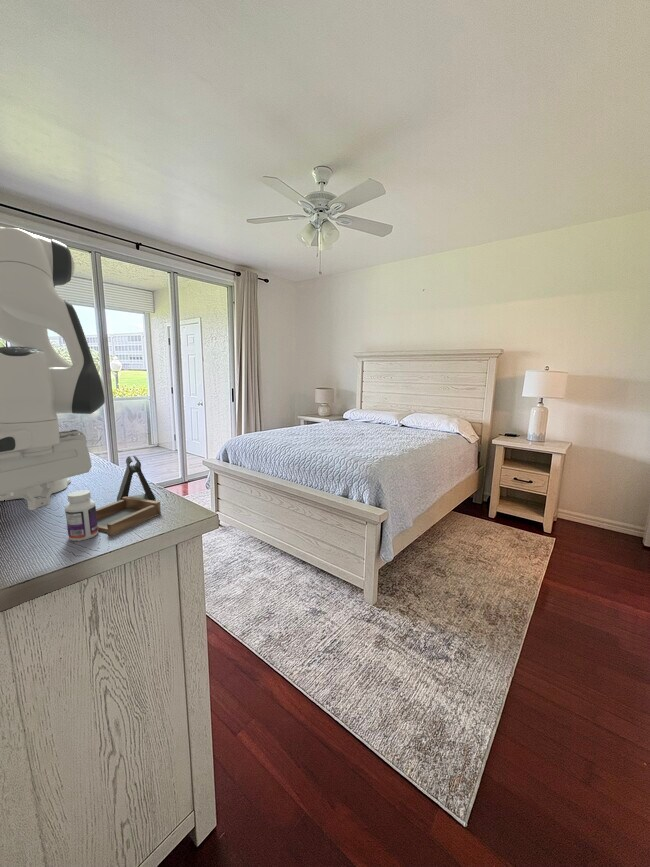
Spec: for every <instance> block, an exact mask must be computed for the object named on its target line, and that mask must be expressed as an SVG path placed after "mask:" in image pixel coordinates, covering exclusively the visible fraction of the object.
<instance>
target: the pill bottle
mask: <svg viewBox="0 0 650 867" xmlns="http://www.w3.org/2000/svg"><path fill="white" fill-rule="evenodd" d="M91 498H92V496H91V491H90V490H89V489H86V490H85V489H81V490H76V491H72V492H69V493H68V494H67V501H68V503H67V504H66V505H65V507H64V510H65V511H64V512H65V513H64V514H65V519H66V520H65V521H66V526H67V527H66V528H67V535H68V539H69V540H70V541H73V542H81V541H85V540H89V539H92V538H94V537H96V536H97V535H98V533H99V531H98V524H97V515H96V509H97V507H96V502H95V501H94V500H93V499H91Z"/></svg>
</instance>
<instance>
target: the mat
mask: <svg viewBox="0 0 650 867" xmlns="http://www.w3.org/2000/svg"><path fill="white" fill-rule="evenodd" d="M137 511H138V510H133V509H127V508H126V509H124V510H121V511H119V512H116V513H114V514H112V515H109V516H107V517H104V518H102V519H99V520H97V524H98V525H102V526H107V524H109V523H111V522H113V521H116V520H118V519H120V518H123V517H125V516H127V515H130V514H132V513H134V512H137Z"/></svg>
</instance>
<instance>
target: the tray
mask: <svg viewBox="0 0 650 867" xmlns="http://www.w3.org/2000/svg"><path fill="white" fill-rule="evenodd" d="M126 508H127V509H133V510H138V511H137V512H134V513H132V514H130V515H127V516H125V517H123V518H120V519H118V520H116V521H113V522H111V523H109V524H107V526H102V525H98V532H101V533H102V532H104V533H106V534H107V535H108V536H112V537H113V536H115V535H117V534H119V533H121V532H123V531H126V530H128V529H130V528H132V527H134V526H137V525H139V524H140V523H143V522H145V521H147V520H150V519H151V518H154V517H155V515H156V516H158V515H159V513H160V514H162V510H161V501H158V500H146V499H140V498H134V497H129V495H128V496H125V497H122V500H119V501H114V502H112V503H109V504H107V505H104V506H101V507H97V508H96V515H97V520H99V519H102V518H104V517H107V516H109V515H112V514H114V513H116V512H119V511H121V510H124V509H126ZM157 514H158V515H157ZM153 516H154V517H153Z"/></svg>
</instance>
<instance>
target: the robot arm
mask: <svg viewBox="0 0 650 867" xmlns="http://www.w3.org/2000/svg"><path fill="white" fill-rule="evenodd" d="M74 273H75V262H74V258H73V255H72V253H71V250H70V248H69V247H68V246H67V245H66V244H64V243H62V242H61V241H58V240H55V239H53V238H51V239H49V238H46V237H43V236H40V235H37V234H33V233H31V232H28V231H26V230H23V229H20V228H17V227H4V226H0V339H2V340H4V341H6V342H7V343H10V344H12V345H14V346H0V502H2V501H3V502H4V500H5V501H10V500H17V499H24V500H25V501H26V503H27V509H28V510H29V511H30V510H31V511H35V510H37V509H41V508H44V507H48V506H50V505H51V498H50V497H51V496H52V494H54V493H58V492H61V491H63V490H65V489H66V488H68V485H69V484H70V483H71V479H70V478H72V477H75V476H76V477H77V476H80V475H83V474H87V473H89V472H90V471H91V469H92V460H91V456H90V452H89V448H88V446H87V437H86V434H85V433H83V432H82V431H79V430H78V429H71V430H67V431H60V430H59V428H60V427H59V421H58V420H59V419H58V415H57V414H75V415H76V414H77V415H79V414H83V415H92V414H94V413H95V412H96V411H98V410H99V409H100V408H101V407H102V406H104V404H105V402H106V397H107V396H106V395H107V393H106V387H105V383H104V381H103V379H102V377H101V375H100V373H99V372H98V369H97V367H96V364H95V362H94V359H93V355H92V352H91V349H90V346H89V344H88V341H87V339H86V334H85V332H84V330H83V327H82V326H83V325H82V324H81V321H80V318H79V317H78V314H77V311H76V309H75V308H74V306H73V304H72V303H71V302H69V301H67V300H66V299H64V298H62V296H61V295H60V294H59V293H58V292H57V291H56V289H55V287H56V286H64V285H66V284H67V283H69V282H71V280H72V278H73V276H74ZM48 330H49V331H52V332H54V333H55V334H57V335H59V336H60V337H61V338H62V339H63V341H64V343H65V346H66V349H67V351H68V355H69V357H70V360H71V363H70V362H68V361H67V360H65V359H64V358H63V357H62V356H61V355H60V354H59V353H58V352H57V351H56V350H55V349H54V347H53V345H52V343H51V341H50V338H49V333H48Z"/></svg>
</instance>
